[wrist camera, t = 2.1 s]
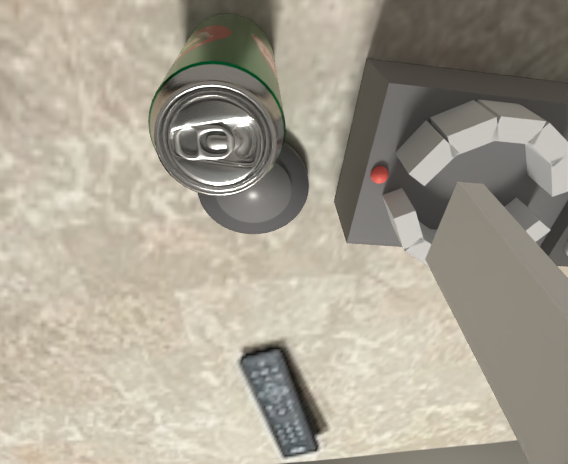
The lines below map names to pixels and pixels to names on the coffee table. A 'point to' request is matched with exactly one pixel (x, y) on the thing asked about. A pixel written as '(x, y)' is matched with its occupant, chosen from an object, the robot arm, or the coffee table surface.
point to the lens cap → (264, 198)
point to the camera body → (453, 154)
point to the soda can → (220, 109)
